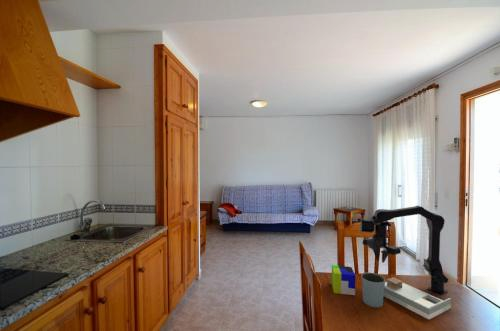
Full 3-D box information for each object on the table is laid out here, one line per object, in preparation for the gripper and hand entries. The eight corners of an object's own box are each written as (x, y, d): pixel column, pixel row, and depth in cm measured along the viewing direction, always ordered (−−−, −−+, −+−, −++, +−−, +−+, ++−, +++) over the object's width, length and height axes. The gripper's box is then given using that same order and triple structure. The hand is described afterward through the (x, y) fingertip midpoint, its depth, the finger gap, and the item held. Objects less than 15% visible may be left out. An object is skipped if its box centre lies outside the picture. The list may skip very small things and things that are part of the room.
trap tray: (394, 282, 134) (394, 274, 134) (450, 308, 111) (451, 298, 111) (373, 290, 126) (373, 281, 126) (428, 319, 103) (429, 309, 103)
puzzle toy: (355, 295, 121) (355, 275, 121) (334, 293, 123) (334, 273, 123) (351, 285, 131) (351, 266, 131) (331, 283, 133) (331, 265, 133)
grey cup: (383, 299, 118) (384, 274, 117) (385, 311, 108) (386, 284, 108) (360, 294, 122) (361, 270, 122) (360, 305, 113) (361, 279, 112)
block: (392, 283, 129) (392, 277, 129) (402, 287, 125) (402, 281, 125) (386, 285, 127) (386, 279, 127) (396, 289, 123) (396, 283, 123)
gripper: (356, 230, 137) (355, 258, 138) (387, 240, 121) (387, 271, 121) (369, 228, 143) (368, 254, 143) (401, 237, 126) (400, 267, 126)
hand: (380, 261), depth 133 cm, fingers open, 3 cm apart
